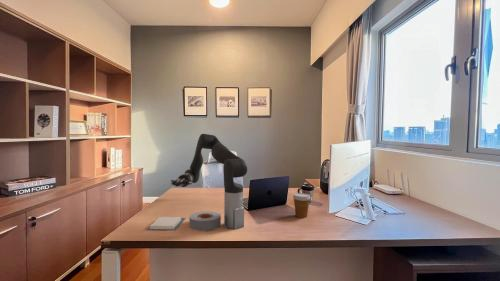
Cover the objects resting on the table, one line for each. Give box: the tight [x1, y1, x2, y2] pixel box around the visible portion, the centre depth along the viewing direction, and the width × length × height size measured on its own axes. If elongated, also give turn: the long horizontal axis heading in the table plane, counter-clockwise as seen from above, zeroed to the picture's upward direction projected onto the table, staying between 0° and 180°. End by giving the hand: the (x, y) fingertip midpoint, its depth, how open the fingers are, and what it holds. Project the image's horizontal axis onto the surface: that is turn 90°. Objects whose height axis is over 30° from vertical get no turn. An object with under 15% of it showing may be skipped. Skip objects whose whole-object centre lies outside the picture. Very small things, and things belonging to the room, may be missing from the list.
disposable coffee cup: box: [292, 192, 311, 219], centre depth 145 cm, size 10×10×12 cm
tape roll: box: [188, 211, 222, 232], centre depth 129 cm, size 15×15×5 cm
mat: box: [146, 217, 187, 232], centre depth 130 cm, size 14×18×1 cm
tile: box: [149, 216, 182, 231], centre depth 128 cm, size 11×2×13 cm
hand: (176, 184), depth 145 cm, fingers closed
